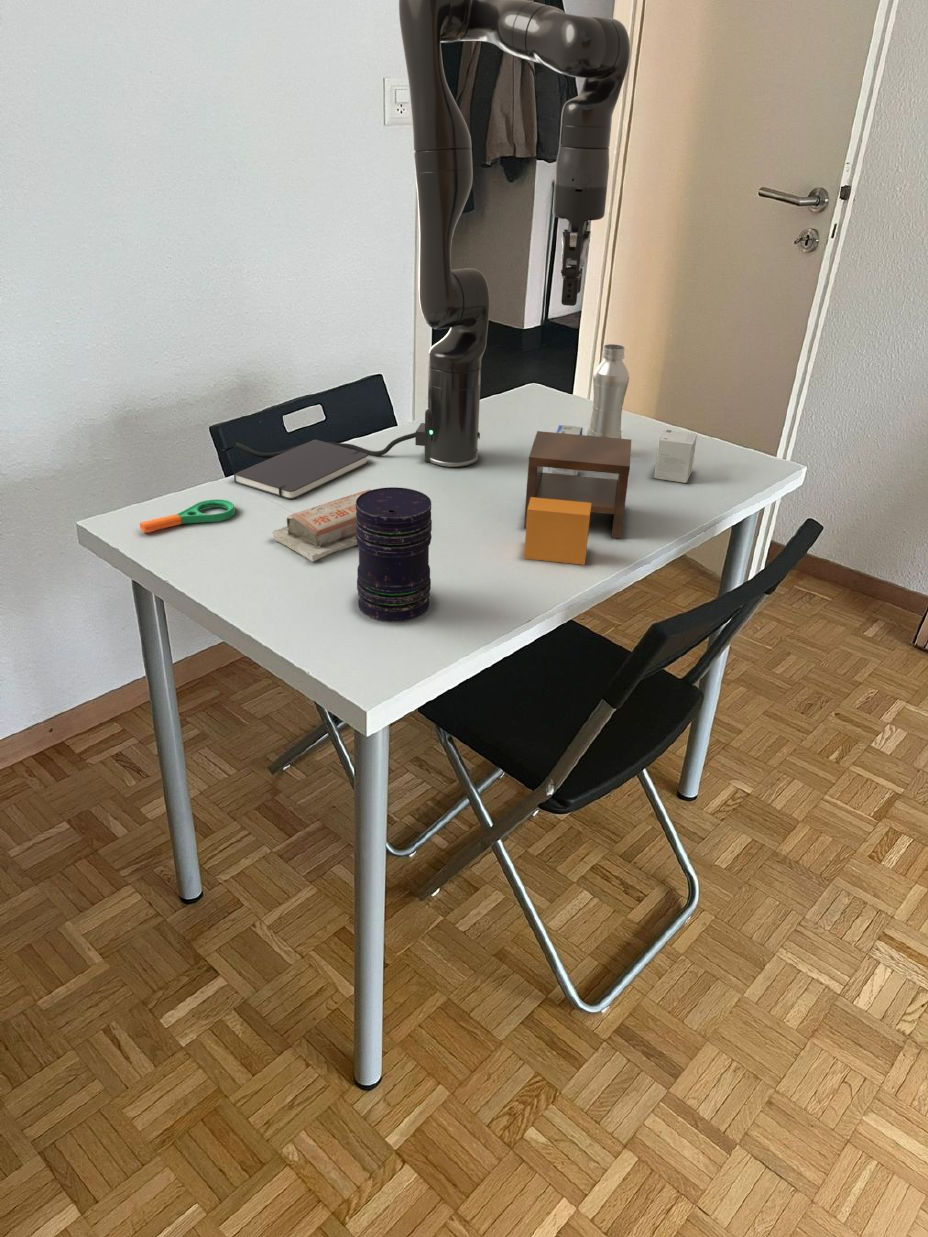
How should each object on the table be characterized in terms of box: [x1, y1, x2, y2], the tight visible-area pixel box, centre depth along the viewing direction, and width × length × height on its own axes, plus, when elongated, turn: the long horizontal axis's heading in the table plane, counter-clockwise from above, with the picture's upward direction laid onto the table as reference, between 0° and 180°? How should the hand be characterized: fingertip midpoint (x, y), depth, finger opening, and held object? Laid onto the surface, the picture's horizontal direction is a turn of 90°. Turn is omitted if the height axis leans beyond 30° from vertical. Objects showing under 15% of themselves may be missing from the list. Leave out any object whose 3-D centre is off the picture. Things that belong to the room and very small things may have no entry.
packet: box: [523, 497, 592, 566], centre depth 144 cm, size 9×5×8 cm, turn 80°
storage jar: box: [356, 486, 433, 623], centre depth 128 cm, size 10×10×15 cm
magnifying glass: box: [139, 498, 235, 534], centre depth 152 cm, size 15×6×2 cm, turn 131°
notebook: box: [233, 439, 369, 500], centre depth 171 cm, size 13×2×21 cm
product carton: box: [653, 429, 698, 484], centre depth 174 cm, size 6×6×7 cm
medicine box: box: [549, 424, 584, 476], centre depth 170 cm, size 8×4×9 cm, turn 168°
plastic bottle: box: [586, 343, 630, 439], centre depth 179 cm, size 6×7×20 cm
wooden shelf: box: [523, 430, 632, 540], centre depth 155 cm, size 15×12×12 cm
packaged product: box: [272, 489, 371, 563], centre depth 149 cm, size 18×5×10 cm
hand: (570, 298), depth 147 cm, fingers open, 8 cm apart
